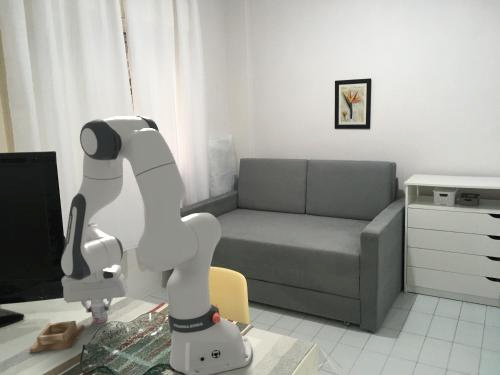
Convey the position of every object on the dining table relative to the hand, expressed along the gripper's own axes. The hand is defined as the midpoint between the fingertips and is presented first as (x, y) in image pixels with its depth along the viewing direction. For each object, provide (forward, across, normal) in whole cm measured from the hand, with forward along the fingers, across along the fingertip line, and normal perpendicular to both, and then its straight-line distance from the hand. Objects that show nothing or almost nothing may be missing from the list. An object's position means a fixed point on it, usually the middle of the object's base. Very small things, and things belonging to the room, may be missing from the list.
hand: (99, 310), depth 140 cm
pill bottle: (+4, 0, 0) cm, 4 cm away
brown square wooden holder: (+3, -10, -10) cm, 15 cm away
